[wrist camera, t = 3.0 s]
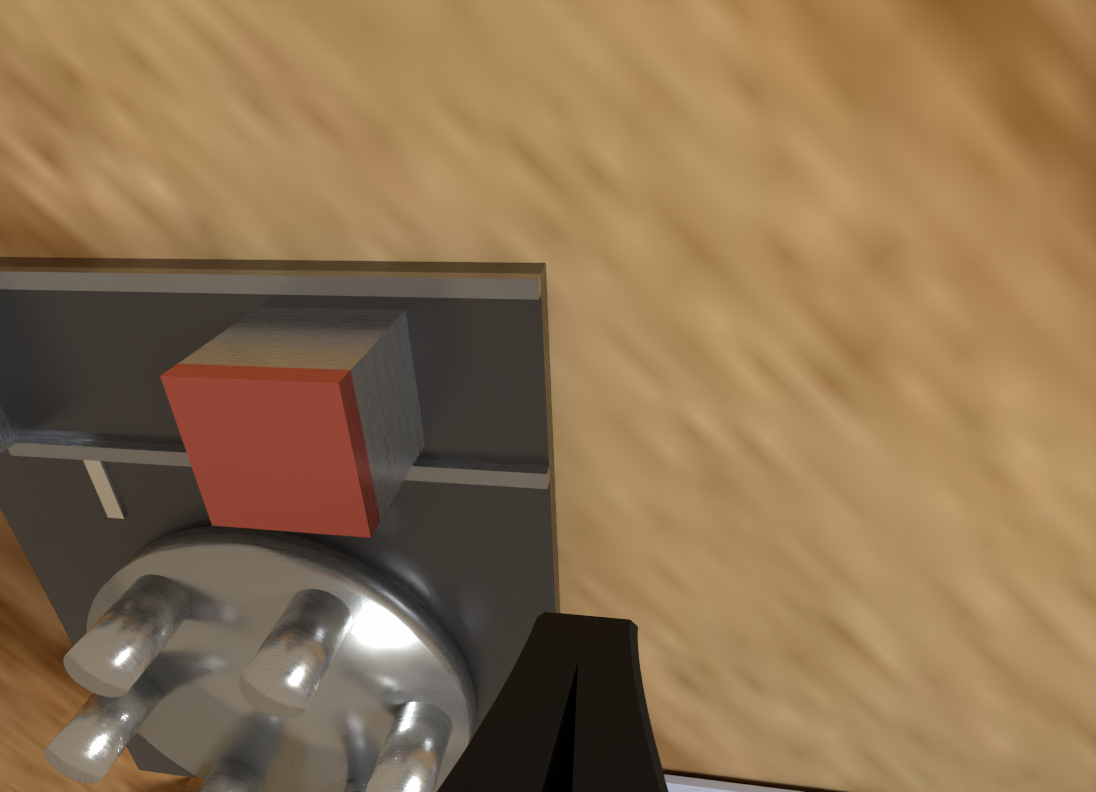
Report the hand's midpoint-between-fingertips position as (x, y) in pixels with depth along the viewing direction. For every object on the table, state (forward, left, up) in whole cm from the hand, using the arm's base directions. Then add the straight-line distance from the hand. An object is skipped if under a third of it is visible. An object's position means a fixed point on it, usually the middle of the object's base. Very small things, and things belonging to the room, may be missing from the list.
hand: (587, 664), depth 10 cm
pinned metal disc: (+12, +13, -9) cm, 20 cm away
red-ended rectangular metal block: (+7, 0, -9) cm, 11 cm away
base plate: (+11, +9, -9) cm, 17 cm away
